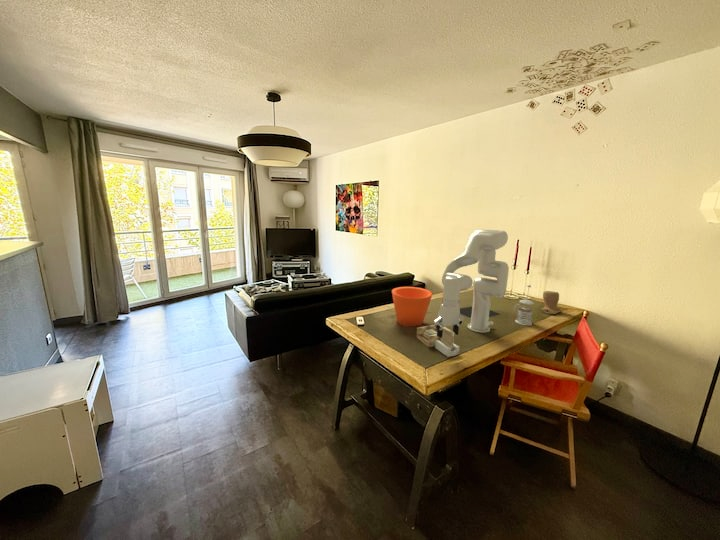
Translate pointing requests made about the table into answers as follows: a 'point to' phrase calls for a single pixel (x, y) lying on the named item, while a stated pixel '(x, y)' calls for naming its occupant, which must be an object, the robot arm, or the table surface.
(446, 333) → the wooden board
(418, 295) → the flowerpot
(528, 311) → the french press
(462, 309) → the tablet
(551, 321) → the table surface
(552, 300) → the stone cup
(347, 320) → the table surface
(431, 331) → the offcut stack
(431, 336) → the rack
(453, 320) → the robot arm
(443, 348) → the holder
